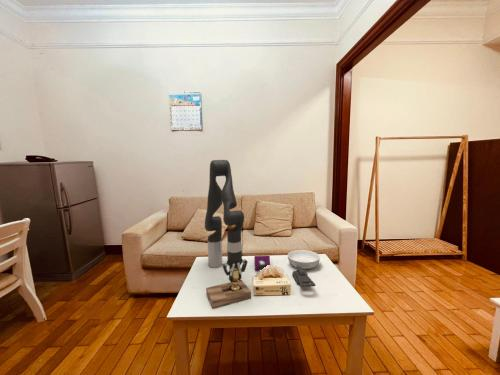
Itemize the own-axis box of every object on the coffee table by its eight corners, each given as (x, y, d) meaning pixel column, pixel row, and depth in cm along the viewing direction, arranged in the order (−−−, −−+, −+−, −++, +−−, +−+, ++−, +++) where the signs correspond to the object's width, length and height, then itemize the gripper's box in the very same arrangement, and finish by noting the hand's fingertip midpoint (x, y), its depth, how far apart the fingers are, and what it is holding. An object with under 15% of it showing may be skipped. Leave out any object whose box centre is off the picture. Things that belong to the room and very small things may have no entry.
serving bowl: (306, 256, 171) (306, 247, 170) (326, 268, 152) (326, 258, 151) (281, 262, 162) (281, 252, 161) (300, 275, 143) (300, 264, 142)
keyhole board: (206, 294, 124) (206, 287, 124) (241, 286, 132) (241, 279, 132) (212, 308, 112) (212, 301, 112) (251, 298, 120) (250, 291, 120)
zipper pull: (299, 285, 120) (291, 263, 145) (299, 297, 121) (291, 273, 146) (317, 284, 120) (306, 263, 145) (316, 297, 121) (305, 273, 146)
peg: (230, 288, 125) (229, 268, 123) (238, 286, 126) (237, 267, 125) (233, 292, 120) (232, 272, 119) (241, 290, 122) (240, 270, 121)
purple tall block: (254, 269, 164) (255, 269, 147) (254, 257, 167) (254, 255, 150) (268, 269, 164) (270, 269, 147) (267, 257, 167) (269, 255, 150)
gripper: (244, 244, 127) (245, 274, 129) (219, 249, 121) (220, 280, 123) (250, 249, 120) (250, 281, 122) (223, 254, 115) (224, 287, 117)
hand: (235, 280), depth 123 cm, fingers closed on peg, 3 cm apart
